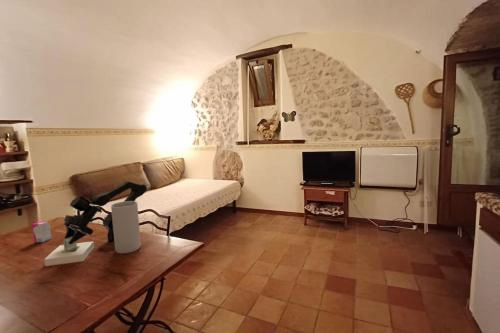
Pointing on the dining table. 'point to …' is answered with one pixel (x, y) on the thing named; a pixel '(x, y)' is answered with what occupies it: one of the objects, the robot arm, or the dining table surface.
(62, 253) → the socket block
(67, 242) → the peg
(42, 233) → the supplement box
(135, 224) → the cylinder vase
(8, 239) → the dining table surface
